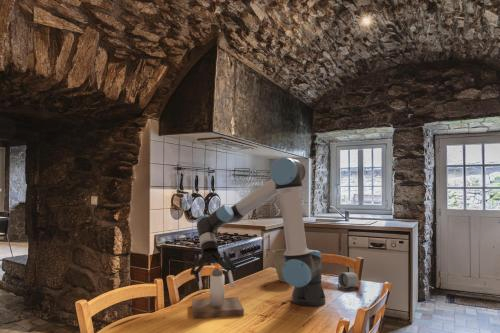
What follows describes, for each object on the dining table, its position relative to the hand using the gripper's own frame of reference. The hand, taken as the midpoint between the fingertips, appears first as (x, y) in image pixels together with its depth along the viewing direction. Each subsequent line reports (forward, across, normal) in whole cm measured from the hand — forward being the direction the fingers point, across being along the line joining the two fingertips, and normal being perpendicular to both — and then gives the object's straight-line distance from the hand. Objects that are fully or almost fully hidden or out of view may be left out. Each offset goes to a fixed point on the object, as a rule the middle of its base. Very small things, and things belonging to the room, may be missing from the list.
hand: (217, 286), depth 149 cm
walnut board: (+7, 0, -7) cm, 10 cm away
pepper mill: (+5, 0, -6) cm, 7 cm away
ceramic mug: (-1, -74, -16) cm, 75 cm away
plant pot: (-16, -49, -31) cm, 60 cm away
